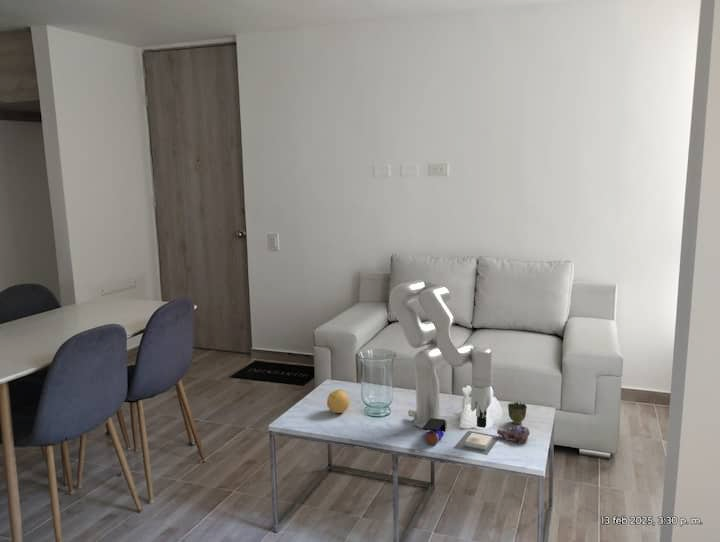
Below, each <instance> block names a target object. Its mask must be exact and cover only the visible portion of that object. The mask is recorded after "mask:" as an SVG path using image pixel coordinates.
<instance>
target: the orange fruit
mask: <svg viewBox="0 0 720 542" xmlns="http://www.w3.org/2000/svg"><path fill="white" fill-rule="evenodd" d="M350 403H351V401H350V397H349V395H348V394H347V392H346V391H344V390H342V389H336V390H333V391H332V392H330V393H329V395H328V397H327V400H326V405H327V408H328V410H329V411H330V412H332V413H335V414H341V413H344V412H346V410H348V408H349V406H350Z"/></svg>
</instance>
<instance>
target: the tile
mask: <svg viewBox="0 0 720 542" xmlns="http://www.w3.org/2000/svg"><path fill="white" fill-rule="evenodd" d="M491 443H492V437H491V436H486V435H481V434H475V433H472V434H471V435H470V436H469V437H468V438H467V440H466V441H465V446H467V447H472V448H477V449H482V450H486V449H487V448H488V447H489V445H490V444H491Z"/></svg>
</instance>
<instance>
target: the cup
mask: <svg viewBox="0 0 720 542" xmlns="http://www.w3.org/2000/svg"><path fill="white" fill-rule="evenodd" d="M507 409H508V416H509V418H510V420H511V421H512V424H514V425H515V426H521V424H522V423H523V422H522V421H524V420H525V418H526V416H527V414H526V413H527V405H526V404H525V403H522V402H519V401H517V402H511V403H508V404H507Z"/></svg>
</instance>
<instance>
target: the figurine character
mask: <svg viewBox="0 0 720 542" xmlns="http://www.w3.org/2000/svg"><path fill="white" fill-rule="evenodd" d="M447 428H448V421H447V420H446V419H444V418H442V419H434V418H430V419H429V421H428V422H427V423H426V424H425V425H424V427H423V428H421V429H422V430H424V431H426V434H425V438H424V439H425V442H426V444H427V445H429V446H434V445H436V444H437V443H439V439H441V438H442V437H444V434H445V433H446V430H447Z"/></svg>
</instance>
